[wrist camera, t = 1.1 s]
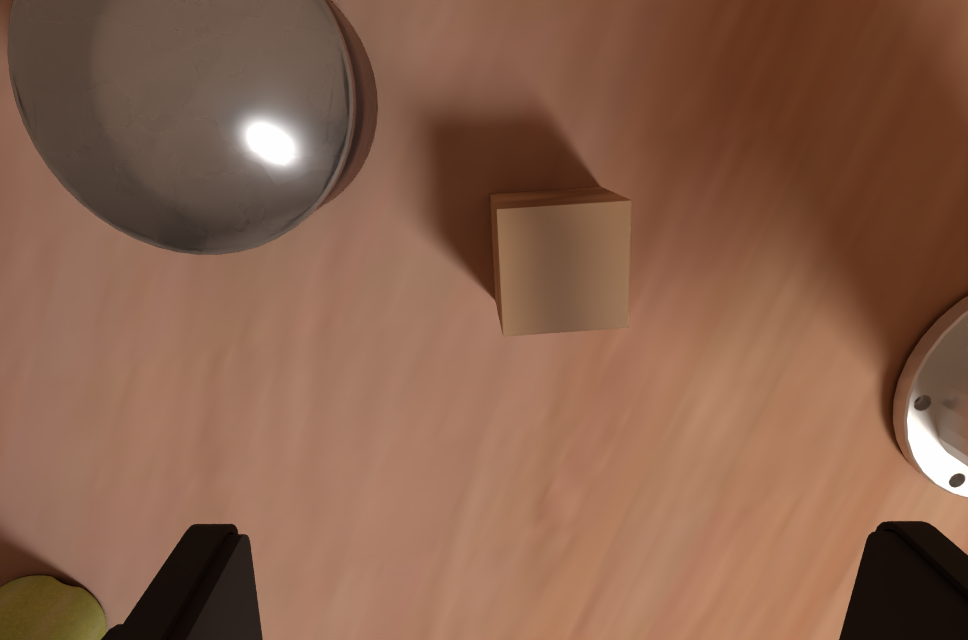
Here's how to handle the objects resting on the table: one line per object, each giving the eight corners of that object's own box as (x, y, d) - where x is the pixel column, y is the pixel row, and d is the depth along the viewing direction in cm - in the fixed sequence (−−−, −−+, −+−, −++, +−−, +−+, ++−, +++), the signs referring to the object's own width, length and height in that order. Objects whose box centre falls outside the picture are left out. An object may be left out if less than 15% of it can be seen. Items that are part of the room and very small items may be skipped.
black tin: (364, -47, 23) (327, -115, 16) (392, 213, 26) (371, 244, 20) (102, -33, 23) (-43, -96, 16) (163, 228, 26) (63, 264, 19)
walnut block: (599, 186, 26) (631, 200, 22) (599, 293, 28) (628, 327, 23) (489, 193, 26) (496, 209, 22) (495, 300, 28) (503, 336, 23)
